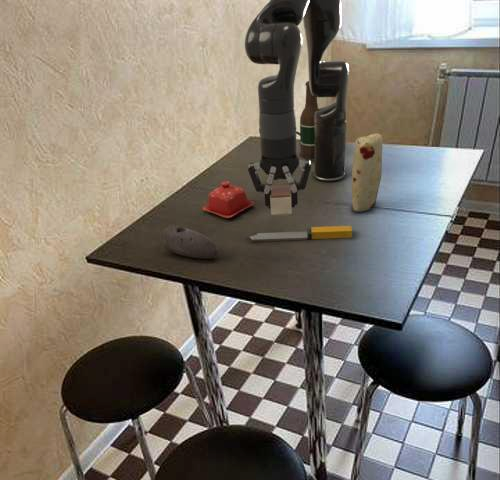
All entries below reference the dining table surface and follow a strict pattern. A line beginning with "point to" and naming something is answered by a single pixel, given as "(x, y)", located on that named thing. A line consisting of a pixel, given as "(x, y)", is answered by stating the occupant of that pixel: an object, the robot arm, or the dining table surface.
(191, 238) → the perforated stone tool
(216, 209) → the butter dish
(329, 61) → the robot arm
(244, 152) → the dining table surface
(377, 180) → the food model
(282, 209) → the salt cellar
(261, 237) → the knife
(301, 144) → the beer bottle
